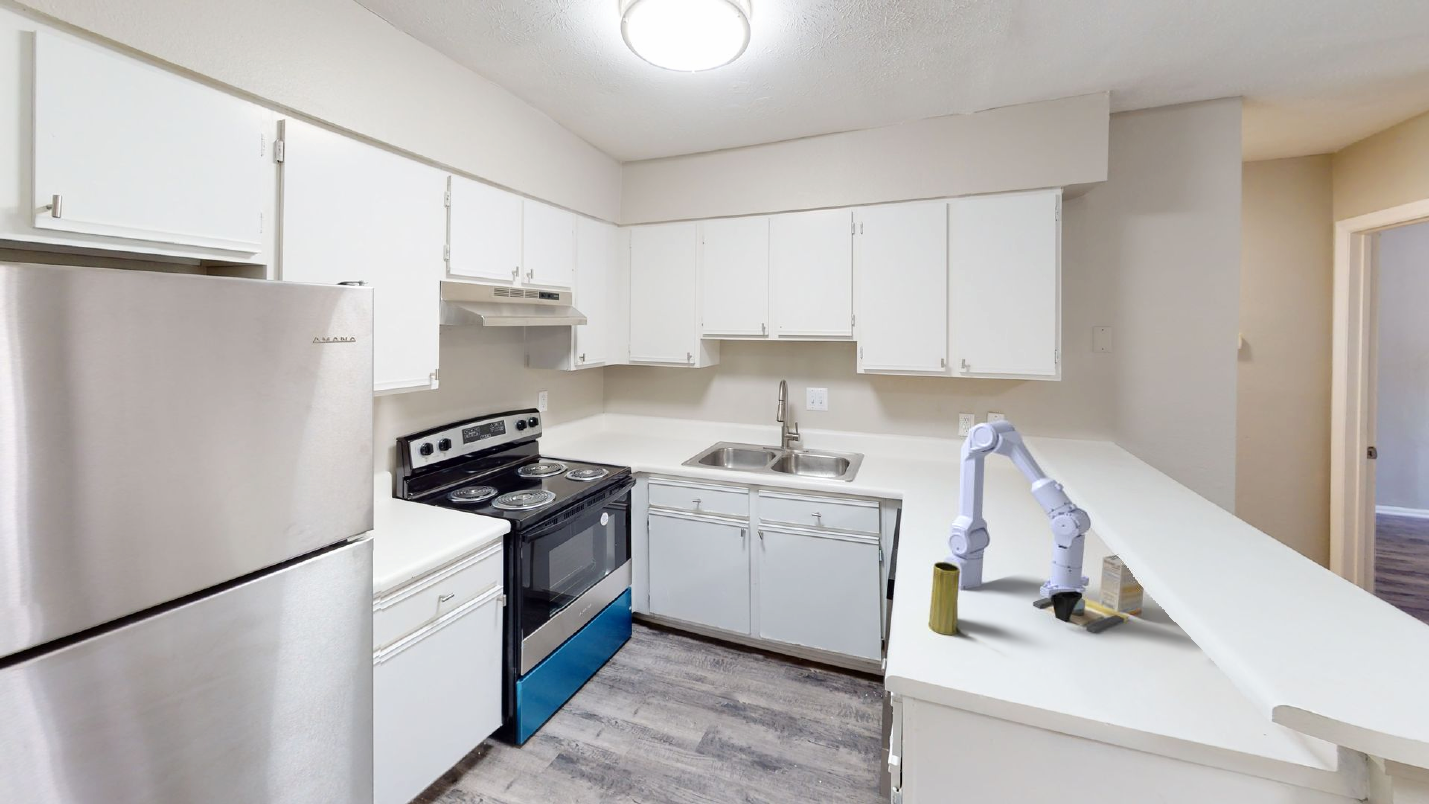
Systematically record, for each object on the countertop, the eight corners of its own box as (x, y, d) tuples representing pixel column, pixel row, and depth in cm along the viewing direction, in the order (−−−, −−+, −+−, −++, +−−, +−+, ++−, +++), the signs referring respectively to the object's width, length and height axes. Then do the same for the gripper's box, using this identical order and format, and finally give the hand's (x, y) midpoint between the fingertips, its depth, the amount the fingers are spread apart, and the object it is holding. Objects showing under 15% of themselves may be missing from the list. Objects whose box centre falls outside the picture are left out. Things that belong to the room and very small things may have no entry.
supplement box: (1121, 603, 137) (1127, 552, 135) (1142, 613, 132) (1148, 559, 131) (1096, 608, 134) (1102, 556, 132) (1117, 618, 130) (1122, 564, 128)
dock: (1093, 640, 120) (1094, 629, 120) (1032, 611, 133) (1033, 601, 132) (1127, 626, 126) (1128, 616, 126) (1065, 600, 138) (1066, 590, 138)
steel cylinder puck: (1078, 617, 126) (1079, 604, 126) (1061, 610, 129) (1062, 597, 129) (1088, 613, 128) (1089, 601, 127) (1071, 606, 131) (1072, 594, 131)
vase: (952, 638, 121) (956, 575, 119) (923, 628, 125) (927, 566, 123) (961, 627, 125) (965, 566, 123) (934, 618, 129) (937, 558, 127)
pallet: (1081, 632, 123) (1082, 624, 123) (1045, 616, 130) (1046, 608, 130) (1102, 624, 127) (1103, 616, 127) (1067, 608, 134) (1067, 600, 134)
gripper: (1064, 576, 118) (1059, 637, 120) (1105, 563, 124) (1099, 621, 126) (1032, 563, 124) (1028, 621, 126) (1072, 552, 131) (1068, 608, 132)
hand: (1061, 621), depth 126 cm, fingers closed
